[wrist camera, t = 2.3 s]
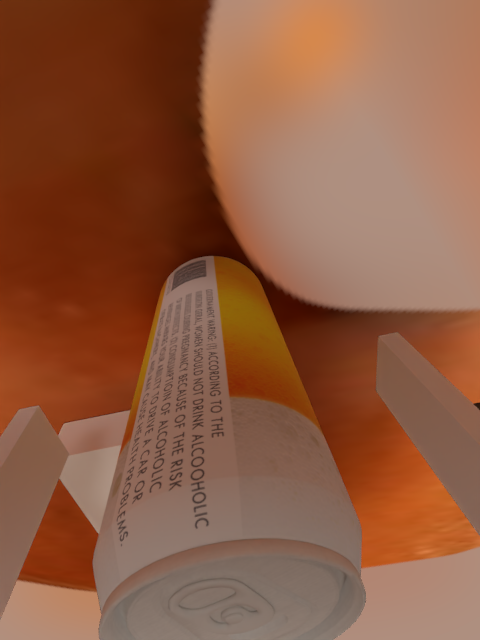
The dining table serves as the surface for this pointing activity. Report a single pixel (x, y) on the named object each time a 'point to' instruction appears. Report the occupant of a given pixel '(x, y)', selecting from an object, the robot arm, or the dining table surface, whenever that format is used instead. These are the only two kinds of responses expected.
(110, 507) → the beer can
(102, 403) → the dining table surface
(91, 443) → the socket plate
